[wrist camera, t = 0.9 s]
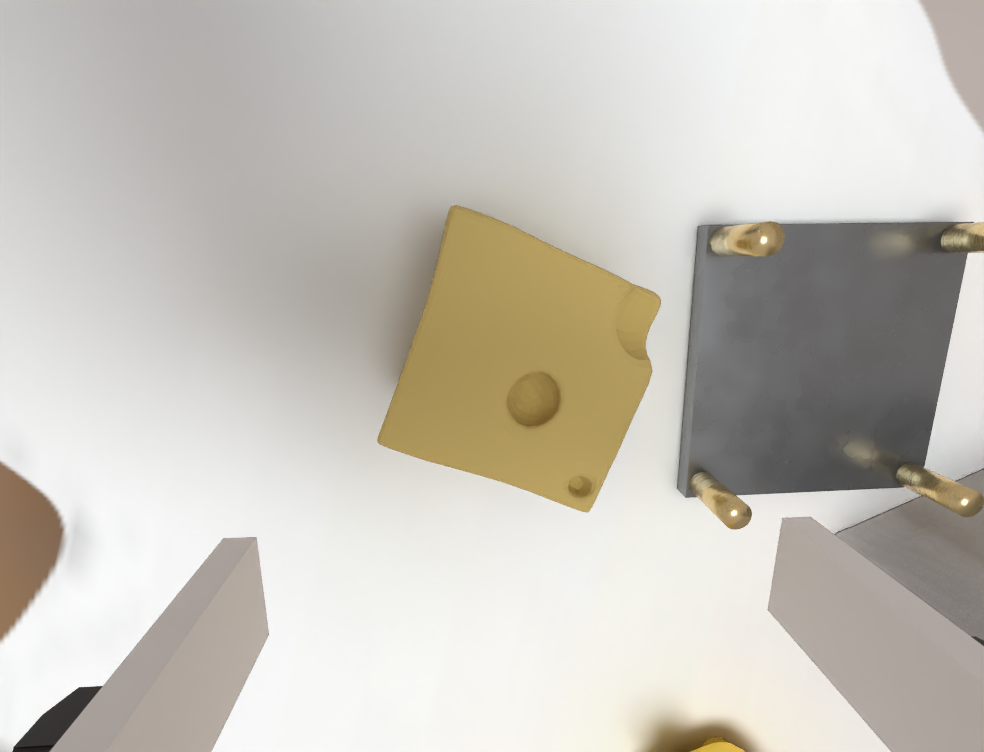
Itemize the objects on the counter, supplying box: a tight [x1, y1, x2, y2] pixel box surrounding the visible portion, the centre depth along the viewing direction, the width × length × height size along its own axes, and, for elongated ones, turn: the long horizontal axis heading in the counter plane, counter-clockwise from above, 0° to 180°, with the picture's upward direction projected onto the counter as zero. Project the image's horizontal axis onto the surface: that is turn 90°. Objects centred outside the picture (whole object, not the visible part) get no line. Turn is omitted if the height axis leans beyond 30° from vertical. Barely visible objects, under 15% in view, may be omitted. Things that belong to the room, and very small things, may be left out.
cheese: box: [377, 205, 661, 512], centre depth 24 cm, size 10×11×10 cm
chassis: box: [677, 222, 984, 529], centre depth 28 cm, size 16×16×5 cm
